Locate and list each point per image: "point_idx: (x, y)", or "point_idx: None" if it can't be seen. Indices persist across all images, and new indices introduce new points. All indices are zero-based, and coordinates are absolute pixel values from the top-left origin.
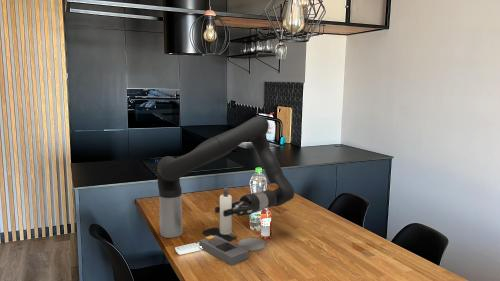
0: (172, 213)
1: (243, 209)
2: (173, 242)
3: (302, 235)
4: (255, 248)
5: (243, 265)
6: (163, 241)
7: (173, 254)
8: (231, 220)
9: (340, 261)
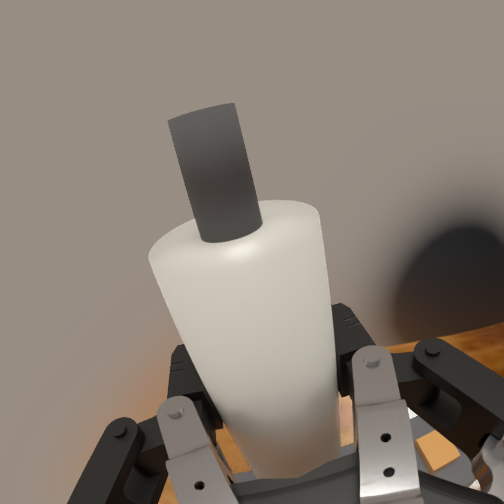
0: None
1: (87, 472)
2: (482, 349)
3: None
4: None
5: None
6: (489, 326)
7: (392, 351)
8: (255, 467)
9: None
